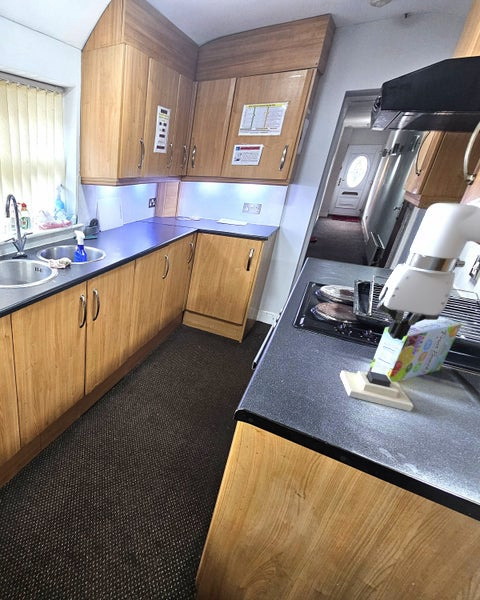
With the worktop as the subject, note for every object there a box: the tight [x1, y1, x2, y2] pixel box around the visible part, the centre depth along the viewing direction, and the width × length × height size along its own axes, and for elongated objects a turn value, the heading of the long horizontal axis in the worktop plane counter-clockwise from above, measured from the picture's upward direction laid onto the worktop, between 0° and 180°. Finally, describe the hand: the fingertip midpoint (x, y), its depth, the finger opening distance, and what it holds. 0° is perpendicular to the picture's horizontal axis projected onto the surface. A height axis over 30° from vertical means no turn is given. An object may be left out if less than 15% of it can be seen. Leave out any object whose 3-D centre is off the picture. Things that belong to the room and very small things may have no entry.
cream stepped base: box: [339, 369, 414, 412], centre depth 83 cm, size 12×10×4 cm
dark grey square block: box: [366, 370, 391, 387], centre depth 82 cm, size 4×4×2 cm
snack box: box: [368, 315, 463, 383], centre depth 88 cm, size 21×6×15 cm, turn 107°
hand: (395, 336), depth 78 cm, fingers closed
